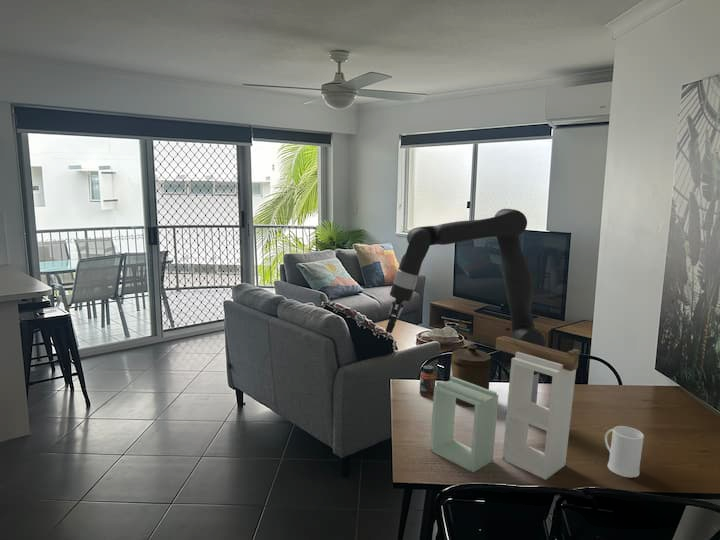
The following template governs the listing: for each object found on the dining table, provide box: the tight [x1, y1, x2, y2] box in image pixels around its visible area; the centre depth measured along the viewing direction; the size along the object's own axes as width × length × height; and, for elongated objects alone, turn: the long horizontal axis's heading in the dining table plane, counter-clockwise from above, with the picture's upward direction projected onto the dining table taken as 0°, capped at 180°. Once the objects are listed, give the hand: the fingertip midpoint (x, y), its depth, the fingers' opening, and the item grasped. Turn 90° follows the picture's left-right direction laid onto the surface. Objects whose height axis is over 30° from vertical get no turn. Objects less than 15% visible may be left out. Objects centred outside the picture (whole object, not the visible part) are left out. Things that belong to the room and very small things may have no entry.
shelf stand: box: [501, 352, 577, 481], centre depth 154 cm, size 12×14×34 cm
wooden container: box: [449, 343, 492, 408], centre depth 199 cm, size 15×15×22 cm
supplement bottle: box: [419, 365, 437, 398], centre depth 203 cm, size 6×6×11 cm
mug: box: [604, 425, 645, 478], centre depth 155 cm, size 12×8×12 cm
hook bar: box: [495, 335, 580, 371], centre depth 153 cm, size 4×24×5 cm, turn 43°
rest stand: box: [429, 376, 499, 473], centre depth 157 cm, size 10×16×22 cm, turn 43°
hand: (389, 329), depth 178 cm, fingers open, 8 cm apart
